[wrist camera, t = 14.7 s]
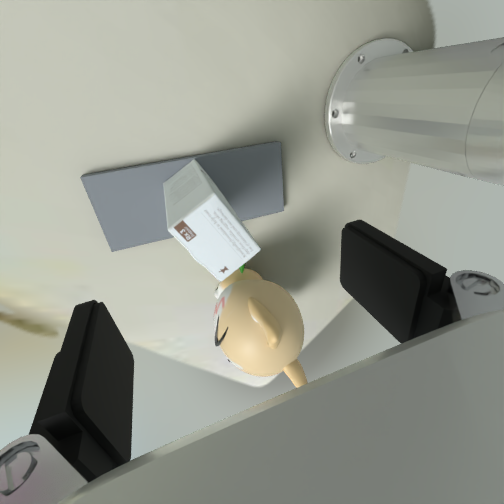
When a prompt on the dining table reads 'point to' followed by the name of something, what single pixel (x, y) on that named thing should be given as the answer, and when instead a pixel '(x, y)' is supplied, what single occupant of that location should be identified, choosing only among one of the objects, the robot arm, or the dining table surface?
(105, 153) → the dining table surface
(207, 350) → the dining table surface
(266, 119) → the dining table surface
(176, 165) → the mat
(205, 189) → the skincare box
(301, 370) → the kitten
